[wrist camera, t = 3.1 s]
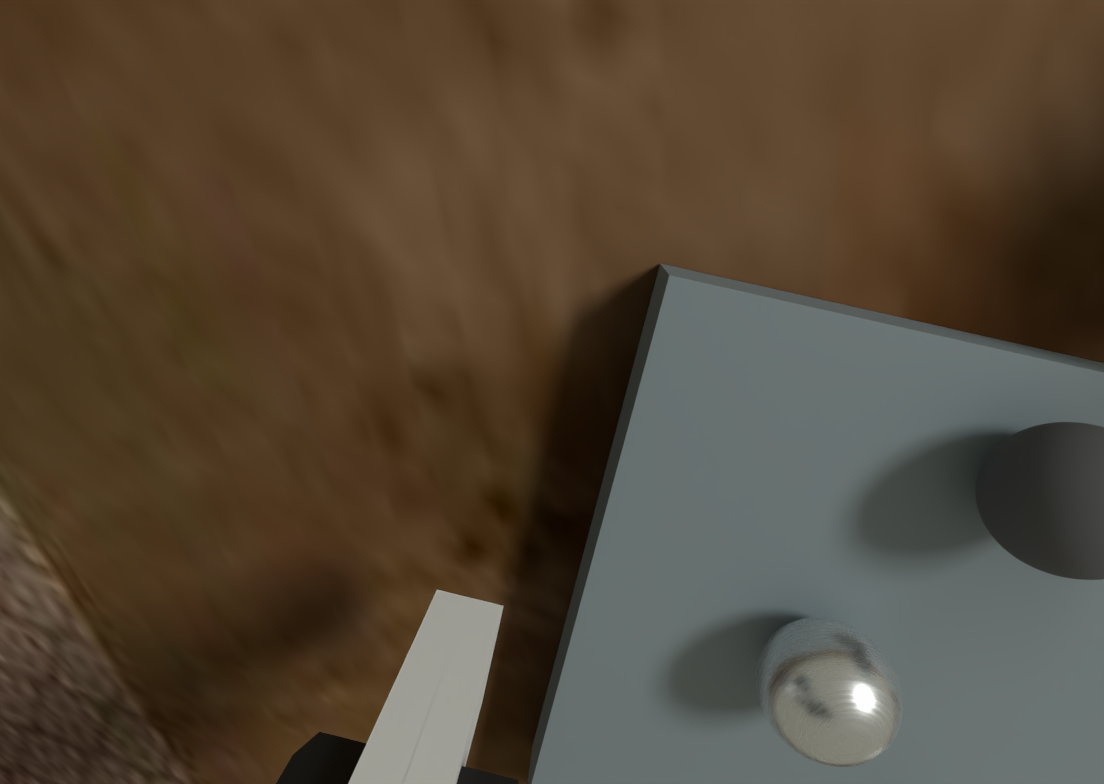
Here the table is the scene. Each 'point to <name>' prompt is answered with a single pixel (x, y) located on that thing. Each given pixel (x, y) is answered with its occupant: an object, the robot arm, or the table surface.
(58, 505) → the table surface
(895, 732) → the steel ball
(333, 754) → the robot arm
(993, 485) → the matte dark gray ball
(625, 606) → the plate
